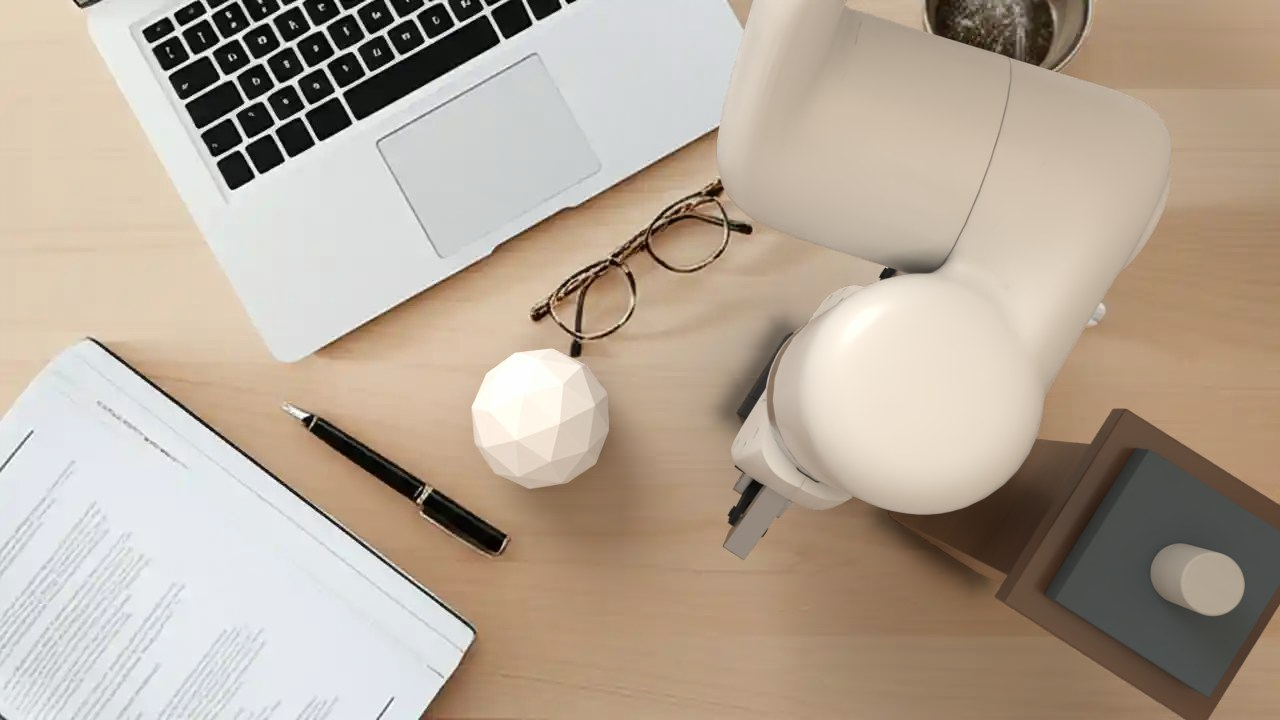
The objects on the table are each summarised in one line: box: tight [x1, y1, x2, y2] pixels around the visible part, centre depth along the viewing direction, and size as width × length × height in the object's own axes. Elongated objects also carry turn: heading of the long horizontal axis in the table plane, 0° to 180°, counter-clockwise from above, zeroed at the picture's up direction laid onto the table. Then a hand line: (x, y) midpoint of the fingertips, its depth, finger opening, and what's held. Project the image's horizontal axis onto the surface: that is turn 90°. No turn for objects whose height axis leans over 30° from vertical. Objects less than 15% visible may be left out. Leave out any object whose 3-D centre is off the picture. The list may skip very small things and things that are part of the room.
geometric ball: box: [471, 347, 610, 490], centre depth 65 cm, size 8×8×8 cm
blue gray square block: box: [1044, 448, 1280, 698], centre depth 38 cm, size 6×6×4 cm
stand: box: [888, 407, 1280, 720], centre depth 54 cm, size 8×8×28 cm
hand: (808, 403), depth 63 cm, fingers open, 9 cm apart
